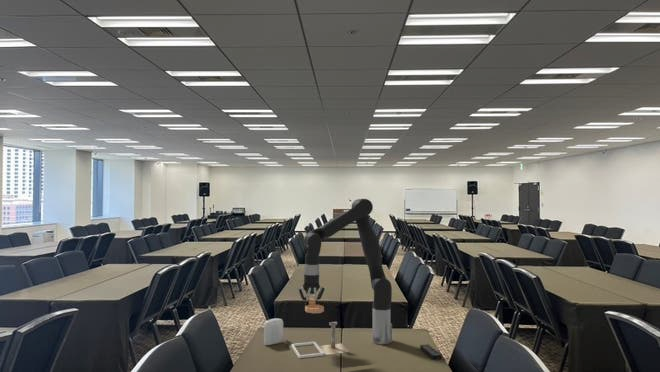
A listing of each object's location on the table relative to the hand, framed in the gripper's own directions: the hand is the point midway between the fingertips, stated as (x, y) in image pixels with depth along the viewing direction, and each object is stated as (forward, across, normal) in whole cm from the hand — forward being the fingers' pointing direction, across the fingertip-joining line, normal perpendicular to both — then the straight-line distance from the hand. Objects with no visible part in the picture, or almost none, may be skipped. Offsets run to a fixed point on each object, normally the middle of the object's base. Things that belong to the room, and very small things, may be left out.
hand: (310, 308), depth 203 cm
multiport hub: (+19, -54, +23) cm, 62 cm away
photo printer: (+21, +16, -13) cm, 29 cm away
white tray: (+20, +3, +6) cm, 21 cm away
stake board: (+20, -10, +7) cm, 23 cm away
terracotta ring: (0, 0, +5) cm, 5 cm away
